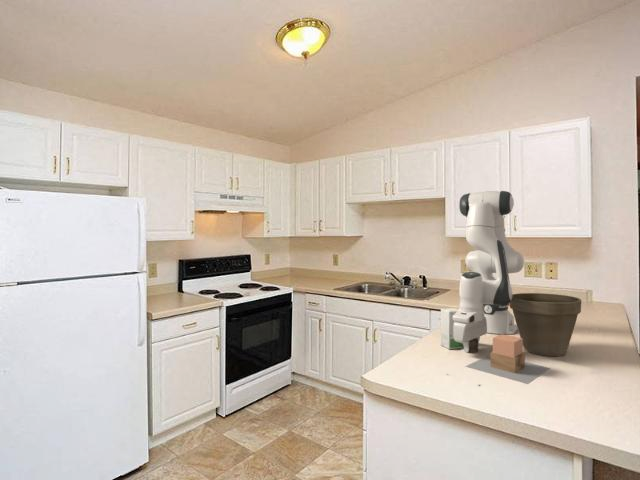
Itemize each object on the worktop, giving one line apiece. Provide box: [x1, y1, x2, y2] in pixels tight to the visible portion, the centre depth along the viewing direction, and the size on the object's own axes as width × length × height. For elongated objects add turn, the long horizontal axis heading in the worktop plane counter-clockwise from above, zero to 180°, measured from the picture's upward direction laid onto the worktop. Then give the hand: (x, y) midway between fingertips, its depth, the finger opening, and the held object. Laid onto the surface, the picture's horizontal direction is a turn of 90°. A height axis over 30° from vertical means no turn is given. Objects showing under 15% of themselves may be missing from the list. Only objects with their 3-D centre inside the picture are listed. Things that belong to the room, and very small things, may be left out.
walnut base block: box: [490, 351, 526, 373], centre depth 127 cm, size 8×8×5 cm
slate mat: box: [464, 353, 551, 385], centre depth 127 cm, size 20×20×2 cm
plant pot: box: [509, 292, 582, 357], centre depth 149 cm, size 25×25×22 cm
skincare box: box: [439, 307, 464, 350], centre depth 155 cm, size 8×7×16 cm
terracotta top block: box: [492, 334, 524, 357], centre depth 127 cm, size 7×7×5 cm
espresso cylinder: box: [468, 338, 479, 354], centre depth 145 cm, size 5×5×6 cm
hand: (471, 349), depth 145 cm, fingers closed on espresso cylinder, 5 cm apart
